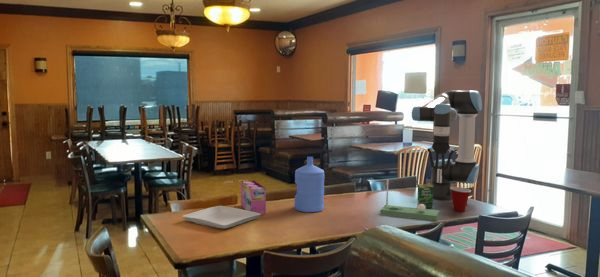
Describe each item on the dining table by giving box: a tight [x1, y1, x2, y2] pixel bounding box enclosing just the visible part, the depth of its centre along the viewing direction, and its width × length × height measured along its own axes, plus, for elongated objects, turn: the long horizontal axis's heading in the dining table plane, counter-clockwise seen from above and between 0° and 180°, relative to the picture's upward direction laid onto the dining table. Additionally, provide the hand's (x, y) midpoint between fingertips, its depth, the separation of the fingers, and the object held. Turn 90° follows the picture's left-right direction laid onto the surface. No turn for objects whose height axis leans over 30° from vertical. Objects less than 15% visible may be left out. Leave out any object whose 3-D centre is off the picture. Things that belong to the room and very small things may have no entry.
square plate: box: [181, 205, 261, 230], centre depth 225 cm, size 27×27×4 cm
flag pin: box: [385, 179, 389, 206], centre depth 250 cm, size 4×1×14 cm, turn 158°
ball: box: [417, 204, 427, 212], centre depth 239 cm, size 4×4×4 cm
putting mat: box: [379, 204, 440, 222], centre depth 243 cm, size 12×28×2 cm, turn 68°
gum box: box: [240, 180, 267, 216], centre depth 248 cm, size 24×8×14 cm, turn 21°
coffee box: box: [416, 183, 434, 209], centre depth 258 cm, size 8×3×13 cm, turn 92°
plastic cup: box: [450, 186, 472, 213], centre depth 254 cm, size 11×11×12 cm
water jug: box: [293, 156, 325, 213], centre depth 250 cm, size 16×16×28 cm
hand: (439, 182), depth 235 cm, fingers closed
